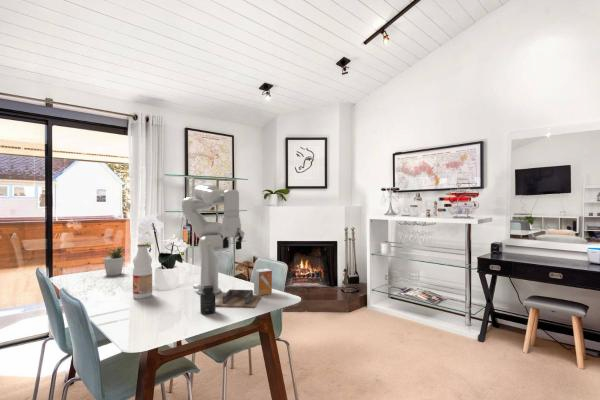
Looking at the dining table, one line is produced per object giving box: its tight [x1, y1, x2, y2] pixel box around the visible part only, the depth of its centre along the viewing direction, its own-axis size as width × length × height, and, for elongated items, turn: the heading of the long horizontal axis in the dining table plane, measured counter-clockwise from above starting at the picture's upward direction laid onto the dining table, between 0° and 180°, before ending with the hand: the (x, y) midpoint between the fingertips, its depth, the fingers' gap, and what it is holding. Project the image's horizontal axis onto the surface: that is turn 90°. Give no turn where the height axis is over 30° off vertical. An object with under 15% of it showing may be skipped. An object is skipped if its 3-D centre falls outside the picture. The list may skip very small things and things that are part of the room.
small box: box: [253, 268, 273, 296], centre depth 189 cm, size 8×6×13 cm
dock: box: [216, 289, 262, 309], centre depth 175 cm, size 20×18×4 cm
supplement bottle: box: [199, 285, 217, 316], centre depth 158 cm, size 7×7×12 cm
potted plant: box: [102, 244, 126, 277], centre depth 233 cm, size 13×14×20 cm
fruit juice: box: [132, 243, 153, 299], centre depth 183 cm, size 9×9×28 cm
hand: (232, 248), depth 172 cm, fingers open, 9 cm apart
